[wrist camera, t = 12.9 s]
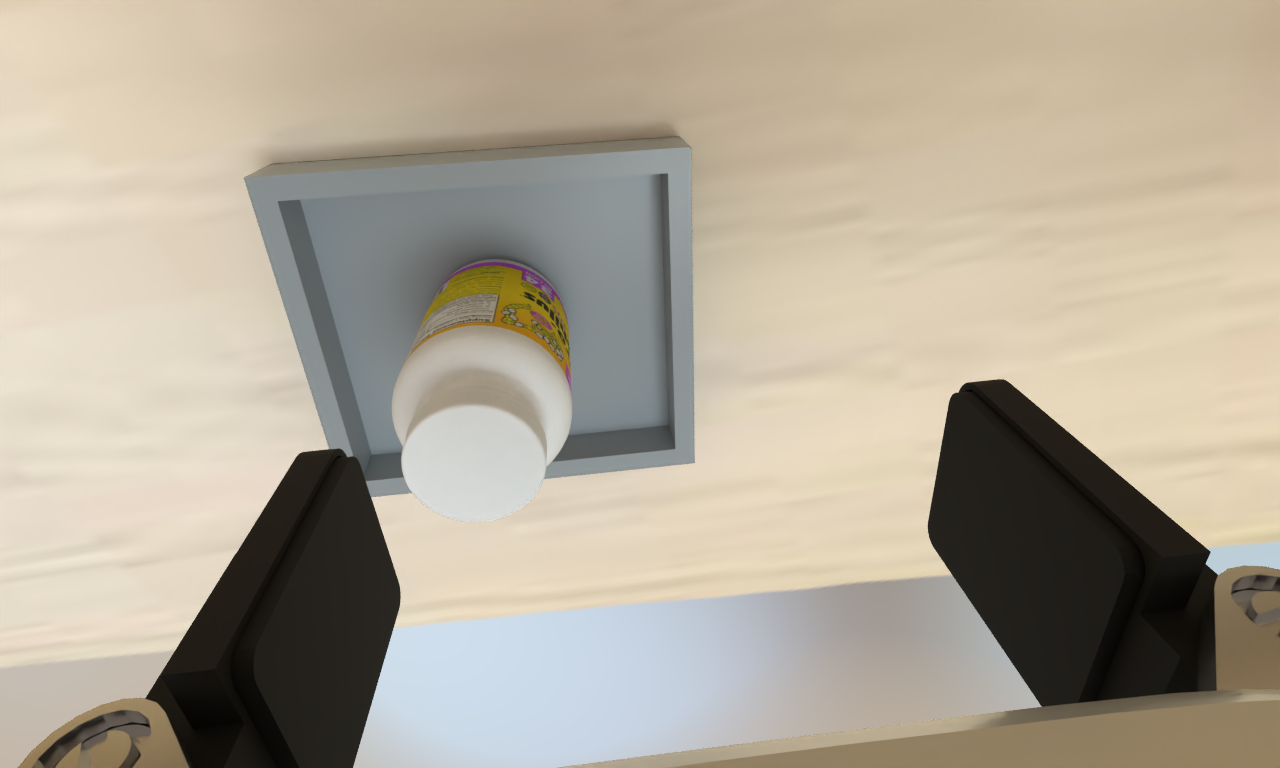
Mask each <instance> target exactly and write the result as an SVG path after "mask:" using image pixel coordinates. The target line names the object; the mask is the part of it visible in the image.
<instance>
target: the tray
mask: <svg viewBox="0 0 1280 768" xmlns="http://www.w3.org/2000/svg"><path fill="white" fill-rule="evenodd" d="M244 180H245V183H246V186H247V189H248V193H249V196H250V199H251V202H252V205H253V208H254V212H255V215H256V218H257V221H258V224H259V227H260V231H261V234H262V237H263V240H264V243H265V247H266V250H267V253H268V256H269V259H270V262H271V266H272V269H273V272H274V275H275V278H276V281H277V285H278V288H279V291H280V294H281V297H282V300H283V304H284V307H285V310H286V313H287V316H288V319H289V323H290V326H291V329H292V332H293V335H294V338H295V342H296V345H297V348H298V351H299V354H300V358H301V361H302V364H303V367H304V370H305V373H306V377H307V380H308V383H309V386H310V389H311V392H312V396H313V399H314V402H315V405H316V408H317V411H318V415H319V418H320V421H321V424H322V427H323V430H324V434H325V437H326V440H327V443H328V446H329V449H338V448H339V449H342V450H343V451H344V452H345V454H346V455H347V457H351V456H354V457H356V458H357V459H358V460H359V463H360V465H361V468H362V471H363V474H364V477H365V481H366V484H367V487H368V490H369V493H370V496H371V497H377V496H387V495H396V494H406V493H412V492H411V490H410V489H409V487H408V486H407V484H406V481H405V478H404V475H403V473H402V465H401V455H402V449H403V446H402V444H401V442H400V440H399V438H398V436H397V434H396V431H395V428H394V424H393V418H392V396H393V391H394V387H395V384H396V381H397V379H398V376H399V373H400V371H401V369H402V367H403V365H404V363H405V360H406V358H407V356H408V354H409V351H410V349H411V347H412V345H413V342H414V340H415V338H416V335H417V333H418V331H419V329H420V326H421V324H422V321H423V319H424V317H425V315H426V312H427V310H428V308H429V306H430V304H431V301H432V299H433V297H434V296H435V294H436V292H437V290H438V289H439V287H440V286H441V285H442V283H443V282H444V281H445V280H446V279H447V278H448V277H449V276H450V275H451V274H453V273H454V272H455V271H457V270H459V269H460V268H462V267H464V266H466V265H469V264H471V263H474V262H477V261H481V260H488V259H503V260H510V261H514V262H518V263H521V264H523V265H526V266H528V267H530V268H532V269H534V270H535V271H537V272H538V273H540V274H541V275H542V276H544V277H545V278H546V279H547V280H548V281H549V282H550V283H551V284H552V285H553V287H554V288H555V289H556V291H557V292H558V294H559V295H560V297H561V299H562V301H563V303H564V306H565V309H566V313H567V318H568V327H569V347H570V369H571V393H572V421H571V426H570V430H569V434H568V437H567V439H566V441H565V443H564V445H563V447H562V449H561V450H560V452H559V453H558V455H557V456H556V457H555V458H554V460H553V461H552V462H551V463H550V464H549V465H548V466H547V467H546V472H545V477H544V479H548V478H557V477H567V476H576V475H586V474H595V473H605V472H614V471H624V470H633V469H643V468H652V467H662V466H671V465H681V464H690V463H695V456H694V365H693V274H692V184H691V147H690V146H689V145H688V144H687V143H686V142H685V141H684V140H683V139H682V138H680V137H665V138H650V139H635V140H620V141H606V142H591V143H576V144H561V145H546V146H531V147H517V148H502V149H487V150H472V151H457V152H442V153H428V154H413V155H398V156H383V157H368V158H354V159H339V160H324V161H309V162H294V163H279V164H270V165H268V166H266V167H264V168H262V169H260V170H258V171H256V172H254V173H252V174H250V175H248V176H246V177H244Z"/></svg>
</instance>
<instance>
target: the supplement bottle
mask: <svg viewBox="0 0 1280 768" xmlns="http://www.w3.org/2000/svg"><path fill="white" fill-rule="evenodd" d="M392 418H393V424H394V428H395V431H396V434H397V436H398V438H399V440H400V442H401V444H402V446H403V449H402V455H401V465H402V473H403V475H404V478H405V481H406V484H407V486H408V487H409V489H410V490H411V492H412V493H413V495H414V496H415V497H416V498H417V499H418V500H419V501H420V502H421V503H422V504H423V505H425V506H426V507H427V508H429V509H430V510H432V511H434V512H436V513H437V514H440V515H442V516H444V517H447V518H450V519H454V520H458V521H463V522H486V521H492V520H497V519H500V518H503V517H506V516H508V515H511V514H513V513H514V512H516V511H518V510H519V509H521V508H522V507H524V506H525V505H526V504H527V503H528V502H530V501H531V500H532V498H533V497H534V496H535V495H536V494H537V492H538V491H539V489H540V487H541V485H542V483H543V480H544V477H545V472H546V467H547V466H548V465H549V464H550V463H551V462H552V461H553V460H554V458H555V457H556V456H557V455H558V453H559V452H560V450H561V449H562V447H563V445H564V443H565V441H566V439H567V437H568V434H569V430H570V426H571V421H572V393H571V369H570V347H569V327H568V318H567V313H566V309H565V306H564V303H563V301H562V299H561V297H560V295H559V294H558V292H557V291H556V289H555V288H554V287H553V285H552V284H551V283H550V282H549V281H548V280H547V279H546V278H545V277H544V276H542V275H541V274H540V273H538V272H537V271H535V270H534V269H532V268H530V267H528V266H526V265H523V264H521V263H518V262H514V261H510V260H503V259H488V260H481V261H477V262H474V263H471V264H469V265H466V266H464V267H462V268H460V269H459V270H457V271H455V272H454V273H453V274H451V275H450V276H449V277H448V278H447V279H446V280H445V281H444V282H443V283H442V285H441V286H440V287H439V289H438V290H437V292H436V294H435V296H434V297H433V299H432V301H431V304H430V306H429V308H428V310H427V312H426V315H425V317H424V319H423V321H422V324H421V326H420V329H419V331H418V333H417V335H416V338H415V340H414V342H413V345H412V347H411V349H410V351H409V354H408V356H407V358H406V360H405V363H404V365H403V367H402V369H401V371H400V373H399V376H398V379H397V381H396V384H395V387H394V391H393V396H392Z"/></svg>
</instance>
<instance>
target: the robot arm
mask: <svg viewBox="0 0 1280 768" xmlns="http://www.w3.org/2000/svg"><path fill="white" fill-rule="evenodd" d="M928 533H929V538H930V541H931V543H932V545H933V547H934V549H935V550H936V551H937V553H938V554H939V556H940V557H941V559H942V560H943V562H944V563H945V565H946V566H947V568H948V569H949V571H950V572H951V574H952V575H953V577H954V578H955V579H956V581H957V582H958V584H959V585H960V587H961V588H962V590H963V591H964V592H965V594H966V596H967V597H968V599H969V600H970V601H971V603H972V604H973V606H974V607H975V609H976V610H977V612H978V613H979V614H980V616H981V618H982V619H983V621H984V622H985V624H986V625H987V626H988V628H989V629H990V631H991V632H992V634H993V635H994V637H995V638H996V640H997V641H998V643H999V644H1000V646H1001V647H1002V649H1003V650H1004V651H1005V653H1006V655H1007V656H1008V657H1009V659H1010V660H1011V662H1012V663H1013V665H1014V666H1015V668H1016V669H1017V671H1018V672H1019V674H1020V675H1021V676H1022V678H1023V679H1024V681H1025V682H1026V684H1027V685H1028V687H1029V688H1030V690H1031V691H1032V693H1033V694H1034V696H1035V697H1036V699H1037V700H1038V702H1039V703H1040V705H1041V706H1042V707H1038V708H1030V709H1021V710H1013V711H1005V712H996V713H988V714H980V715H972V716H963V717H955V718H947V719H938V720H931V721H922V722H914V723H905V724H898V725H889V726H881V727H873V728H864V729H856V730H849V731H840V732H832V733H825V734H816V735H809V736H800V737H792V738H785V739H778V740H769V741H761V742H753V743H746V744H737V745H729V746H721V747H713V748H706V749H698V750H690V751H682V752H674V753H666V754H659V755H651V756H643V757H635V758H627V759H620V760H612V761H605V762H598V763H590V764H582V765H575V766H567V767H560V768H1280V570H1278V569H1274V568H1269V567H1263V566H1240V567H1235V568H1230V569H1227V570H1226V571H1224V572H1223V573H1221V574H1220V575H1217V574H1216V573H1215V572H1214V571H1213V570H1212V569H1210V568H1209V567H1208V566H1207V565H1206V561H1207V559H1208V557H1209V554H1210V551H1209V550H1208V549H1207V548H1205V547H1204V546H1203V545H1202V544H1201V543H1199V542H1198V541H1197V540H1196V539H1195V538H1193V537H1192V536H1191V535H1190V534H1189V533H1187V532H1186V531H1185V530H1184V529H1183V528H1182V527H1180V526H1179V525H1178V524H1177V523H1176V522H1174V521H1173V520H1172V519H1171V518H1170V517H1168V516H1167V515H1166V514H1165V513H1164V512H1163V511H1161V510H1160V509H1159V508H1158V507H1157V506H1155V505H1154V504H1153V503H1152V502H1151V501H1149V500H1148V499H1147V498H1146V497H1145V496H1143V495H1142V494H1141V493H1140V492H1139V491H1138V490H1136V489H1135V488H1134V487H1133V486H1132V485H1130V484H1129V483H1128V482H1127V481H1126V480H1124V479H1123V478H1122V477H1121V476H1120V475H1119V474H1117V473H1116V472H1115V471H1114V470H1113V469H1111V468H1110V467H1109V466H1108V465H1107V464H1105V463H1104V462H1103V461H1102V460H1101V459H1099V458H1098V457H1097V456H1096V455H1095V454H1094V453H1092V452H1091V451H1090V450H1089V449H1088V448H1086V447H1085V446H1084V445H1083V444H1082V443H1080V442H1079V441H1078V440H1077V439H1076V438H1075V437H1073V436H1072V435H1071V434H1070V433H1069V432H1067V431H1066V430H1065V429H1064V428H1063V427H1061V426H1060V425H1059V424H1058V423H1057V422H1055V421H1054V420H1053V419H1052V418H1051V417H1050V416H1048V415H1047V414H1046V413H1045V412H1044V411H1042V410H1041V409H1040V408H1039V407H1038V406H1036V405H1035V404H1034V403H1033V402H1032V401H1031V400H1029V399H1028V398H1027V397H1026V396H1025V395H1023V394H1022V393H1021V392H1020V391H1019V390H1017V389H1016V388H1015V387H1014V386H1013V385H1011V384H1010V383H1009V382H1007V381H1006V380H1001V379H998V380H989V381H979V382H970V383H966V384H964V385H963V386H962V387H961V389H960V391H959V393H955V394H953V395H952V396H951V398H950V401H949V406H948V412H947V417H946V423H945V429H944V435H943V440H942V446H941V452H940V457H939V463H938V469H937V475H936V480H935V486H934V492H933V497H932V503H931V509H930V515H929V520H928ZM399 607H400V586H399V582H398V579H397V576H396V573H395V570H394V567H393V563H392V560H391V557H390V554H389V551H388V548H387V545H386V542H385V539H384V536H383V533H382V530H381V527H380V524H379V520H378V517H377V514H376V511H375V508H374V505H373V502H372V499H371V496H370V493H369V490H368V487H367V484H366V481H365V477H364V474H363V471H362V468H361V465H360V463H359V460H358V459H357V458H356V457H354V456H351V457H347V455H346V454H345V452H344V451H343V450H342V449H339V448H338V449H328V450H319V451H309V452H302V453H300V454H299V455H298V456H297V457H296V459H295V460H294V462H293V463H292V465H291V467H290V468H289V470H288V471H287V473H286V475H285V476H284V478H283V479H282V481H281V483H280V484H279V486H278V487H277V489H276V491H275V492H274V494H273V495H272V497H271V499H270V500H269V502H268V503H267V505H266V507H265V508H264V510H263V511H262V513H261V515H260V516H259V518H258V520H257V521H256V523H255V524H254V526H253V528H252V529H251V531H250V532H249V534H248V536H247V537H246V539H245V540H244V542H243V544H242V545H241V547H240V548H239V550H238V552H237V553H236V554H235V556H234V557H233V559H232V561H231V562H230V564H229V565H228V567H227V569H226V570H225V572H224V573H223V575H222V577H221V578H220V580H219V581H218V583H217V585H216V586H215V588H214V589H213V591H212V593H211V594H210V596H209V597H208V599H207V601H206V602H205V604H204V605H203V607H202V609H201V610H200V612H199V613H198V615H197V617H196V618H195V620H194V621H193V623H192V625H191V626H190V628H189V629H188V631H187V633H186V634H185V636H184V637H183V639H182V641H181V642H180V644H179V645H178V647H177V649H176V650H175V652H174V653H173V655H172V657H171V658H170V660H169V662H168V663H167V665H166V666H165V668H164V669H163V671H162V673H161V675H160V676H159V677H158V679H157V681H156V682H155V684H154V685H153V687H152V689H151V690H150V692H149V694H148V695H147V697H146V698H145V699H144V698H133V699H121V700H118V701H114V702H110V703H107V704H103V705H100V706H98V707H96V708H94V709H92V710H90V711H87V712H85V713H83V714H81V715H79V716H77V717H75V718H74V719H73V720H71V721H69V722H68V723H66V724H65V725H63V726H62V727H60V728H59V729H57V730H56V731H54V732H53V733H51V734H50V735H49V736H48V737H47V738H46V739H45V740H44V741H42V742H41V743H40V744H39V745H38V746H37V747H36V748H34V749H33V750H32V751H31V752H30V754H29V755H28V756H27V757H26V758H25V760H24V761H23V762H22V763H21V764H20V766H19V767H18V768H353V765H354V762H355V758H356V755H357V752H358V748H359V744H360V741H361V738H362V734H363V731H364V727H365V724H366V721H367V717H368V713H369V710H370V707H371V703H372V700H373V697H374V693H375V690H376V686H377V683H378V679H379V676H380V672H381V669H382V666H383V662H384V659H385V655H386V652H387V648H388V645H389V642H390V638H391V635H392V631H393V628H394V624H395V621H396V618H397V614H398V611H399Z"/></svg>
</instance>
